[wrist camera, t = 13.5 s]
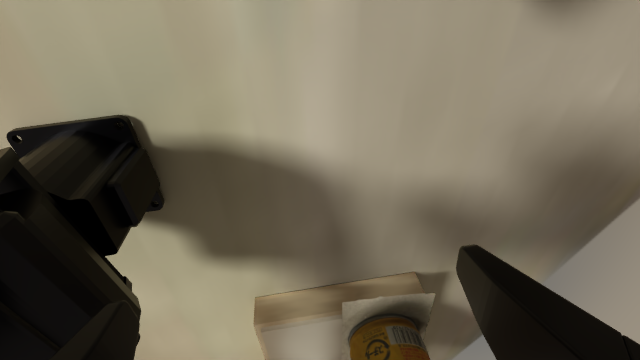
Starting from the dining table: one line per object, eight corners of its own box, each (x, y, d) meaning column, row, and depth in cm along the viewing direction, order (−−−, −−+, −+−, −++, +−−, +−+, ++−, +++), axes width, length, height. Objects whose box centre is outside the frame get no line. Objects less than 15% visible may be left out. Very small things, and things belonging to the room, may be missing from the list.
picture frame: (278, 371, 35) (278, 402, 32) (255, 297, 28) (253, 329, 26) (408, 348, 35) (418, 377, 33) (414, 271, 29) (428, 300, 26)
